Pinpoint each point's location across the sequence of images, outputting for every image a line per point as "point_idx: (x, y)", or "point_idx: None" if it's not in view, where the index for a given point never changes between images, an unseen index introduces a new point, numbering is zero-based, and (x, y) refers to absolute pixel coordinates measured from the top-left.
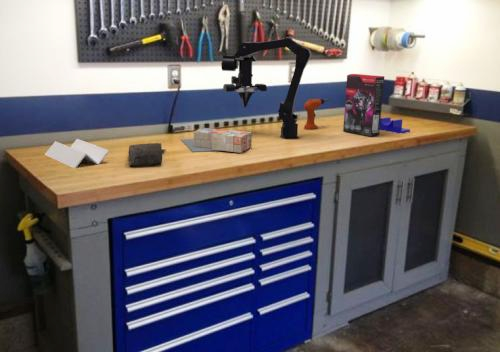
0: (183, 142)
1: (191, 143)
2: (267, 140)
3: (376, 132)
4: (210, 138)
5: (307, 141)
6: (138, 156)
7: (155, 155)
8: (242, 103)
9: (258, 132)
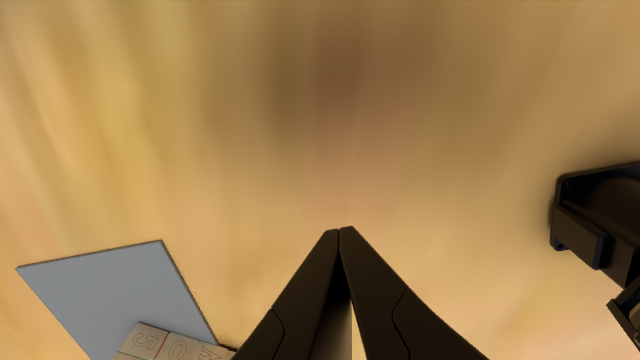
0: (54, 311)
1: (96, 336)
2: (438, 272)
3: None
4: None
5: None
6: None
7: None
8: (305, 261)
9: (458, 27)
